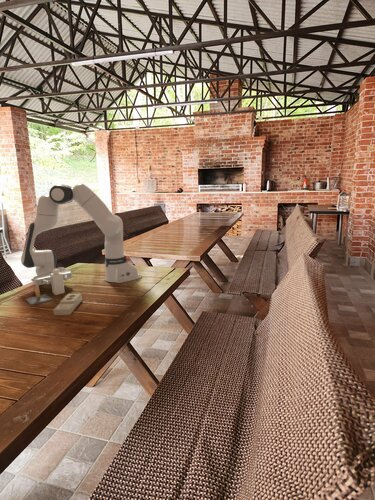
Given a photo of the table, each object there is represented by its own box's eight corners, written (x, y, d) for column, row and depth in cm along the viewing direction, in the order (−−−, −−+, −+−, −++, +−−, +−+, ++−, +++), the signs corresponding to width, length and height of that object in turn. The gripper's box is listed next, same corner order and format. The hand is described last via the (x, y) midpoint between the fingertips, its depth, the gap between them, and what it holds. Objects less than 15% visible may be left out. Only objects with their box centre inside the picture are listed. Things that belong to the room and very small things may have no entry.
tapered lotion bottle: (61, 290, 176) (59, 268, 173) (64, 292, 173) (62, 270, 170) (52, 292, 173) (49, 270, 170) (55, 295, 169) (52, 272, 167)
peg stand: (45, 295, 169) (44, 281, 168) (51, 300, 162) (49, 286, 160) (25, 300, 163) (23, 285, 162) (30, 305, 156) (28, 290, 154)
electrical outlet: (53, 307, 143) (67, 293, 161) (54, 315, 144) (68, 300, 162) (68, 307, 143) (81, 293, 161) (69, 315, 144) (82, 300, 162)
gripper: (29, 273, 174) (36, 279, 164) (66, 266, 187) (75, 271, 177) (31, 284, 176) (38, 291, 165) (67, 276, 188) (76, 282, 178)
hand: (57, 280), depth 171 cm, fingers open, 8 cm apart
